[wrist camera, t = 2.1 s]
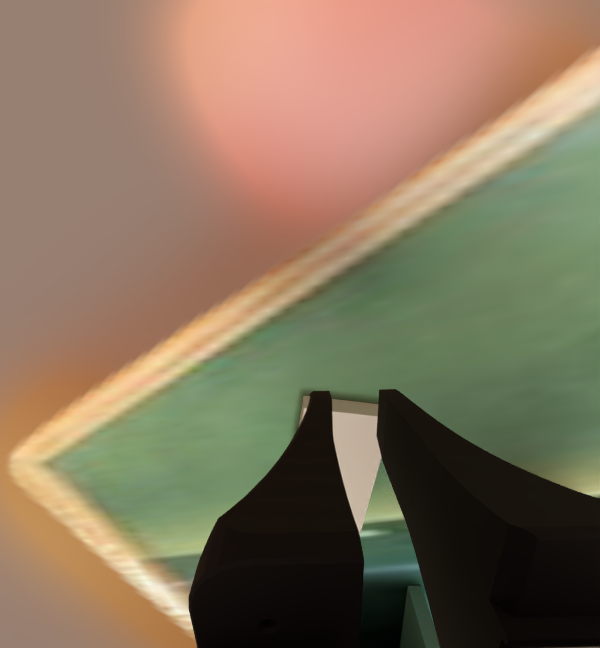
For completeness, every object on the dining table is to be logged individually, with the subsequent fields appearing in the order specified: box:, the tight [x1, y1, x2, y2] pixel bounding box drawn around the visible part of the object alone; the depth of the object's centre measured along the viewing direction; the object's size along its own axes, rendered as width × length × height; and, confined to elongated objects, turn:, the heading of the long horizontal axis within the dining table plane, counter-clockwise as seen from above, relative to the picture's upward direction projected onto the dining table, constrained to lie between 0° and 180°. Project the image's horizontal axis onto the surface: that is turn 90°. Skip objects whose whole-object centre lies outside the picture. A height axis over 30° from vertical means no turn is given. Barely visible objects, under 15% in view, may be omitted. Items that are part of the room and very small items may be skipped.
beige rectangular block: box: [298, 396, 381, 535], centre depth 24 cm, size 6×14×2 cm, turn 172°
